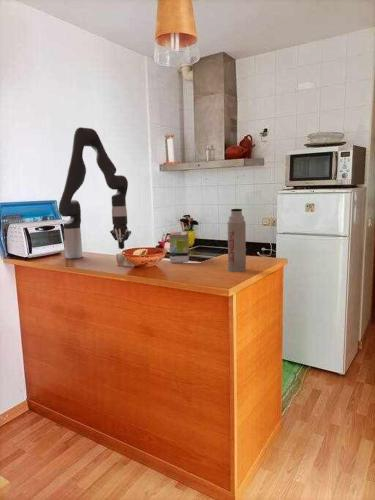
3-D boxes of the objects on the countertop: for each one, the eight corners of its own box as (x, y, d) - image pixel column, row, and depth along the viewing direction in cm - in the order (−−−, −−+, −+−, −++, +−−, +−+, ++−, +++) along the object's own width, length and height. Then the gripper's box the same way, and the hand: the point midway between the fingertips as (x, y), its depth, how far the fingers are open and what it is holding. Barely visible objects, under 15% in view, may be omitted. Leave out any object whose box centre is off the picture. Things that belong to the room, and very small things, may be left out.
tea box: (189, 262, 192) (188, 234, 189) (169, 263, 192) (168, 234, 190) (189, 257, 207) (188, 230, 204) (171, 257, 207) (170, 231, 204)
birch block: (116, 253, 190) (135, 254, 185) (123, 251, 195) (142, 252, 190) (117, 265, 191) (136, 266, 186) (124, 263, 196) (143, 264, 191)
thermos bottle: (233, 272, 166) (233, 209, 161) (225, 269, 173) (224, 208, 168) (249, 270, 169) (248, 208, 164) (239, 267, 176) (239, 208, 171)
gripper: (104, 215, 190) (107, 249, 193) (124, 215, 183) (126, 250, 186) (115, 214, 196) (117, 247, 199) (134, 214, 189) (136, 248, 192)
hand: (121, 248), depth 192 cm, fingers closed
